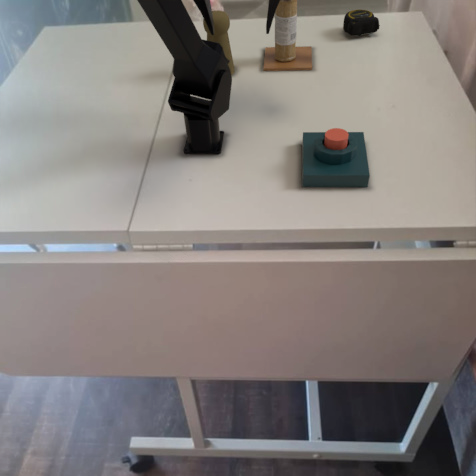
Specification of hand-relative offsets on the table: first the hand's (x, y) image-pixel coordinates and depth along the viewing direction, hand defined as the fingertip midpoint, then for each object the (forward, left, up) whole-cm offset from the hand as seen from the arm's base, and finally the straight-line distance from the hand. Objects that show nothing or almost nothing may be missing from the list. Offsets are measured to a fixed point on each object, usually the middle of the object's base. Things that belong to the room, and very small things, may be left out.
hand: (240, 33), depth 80 cm
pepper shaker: (+15, +6, -13) cm, 21 cm away
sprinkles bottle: (+20, -7, -13) cm, 24 cm away
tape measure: (+32, -24, -13) cm, 42 cm away
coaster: (+20, -8, -13) cm, 25 cm away
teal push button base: (-18, -16, -13) cm, 27 cm away
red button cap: (-18, -16, -9) cm, 26 cm away
